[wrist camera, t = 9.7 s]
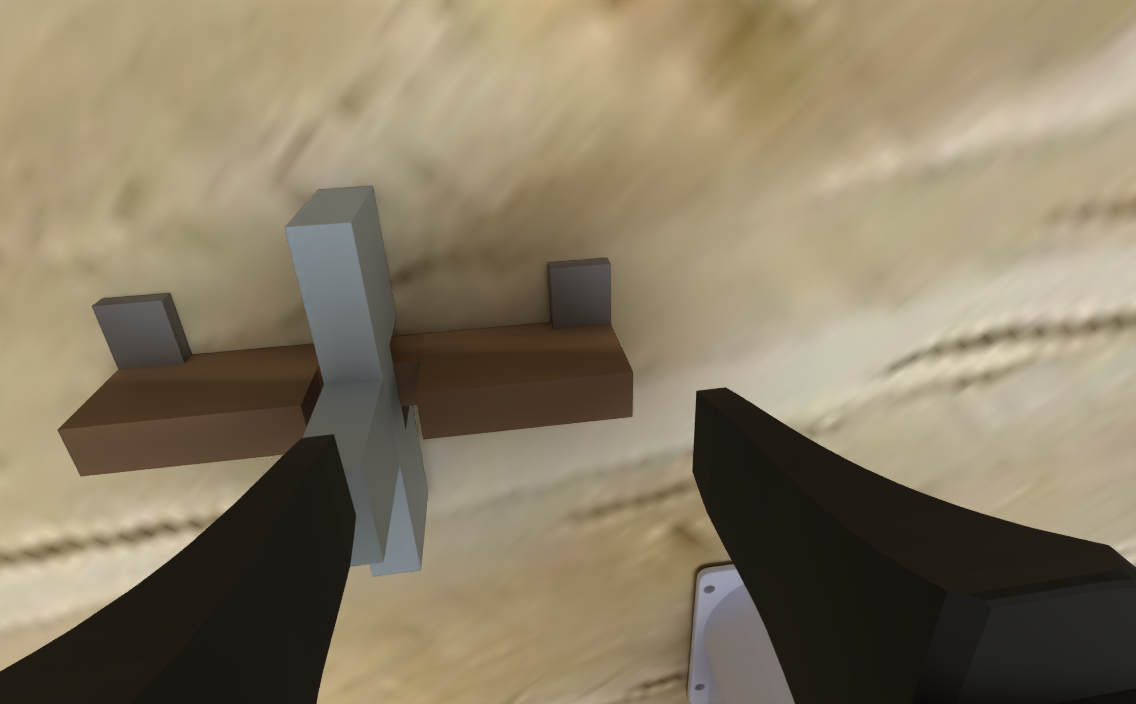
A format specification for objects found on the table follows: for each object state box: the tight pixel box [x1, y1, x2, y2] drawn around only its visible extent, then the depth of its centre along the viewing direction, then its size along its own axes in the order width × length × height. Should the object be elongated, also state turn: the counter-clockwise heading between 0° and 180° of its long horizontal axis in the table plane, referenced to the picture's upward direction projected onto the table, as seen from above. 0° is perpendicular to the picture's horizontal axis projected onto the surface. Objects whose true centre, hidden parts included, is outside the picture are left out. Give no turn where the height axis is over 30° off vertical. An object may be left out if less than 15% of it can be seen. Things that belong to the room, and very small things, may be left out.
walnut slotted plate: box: [58, 258, 633, 476], centre depth 20 cm, size 6×16×4 cm, turn 93°
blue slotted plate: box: [285, 186, 428, 577], centre depth 18 cm, size 12×2×8 cm, turn 3°
